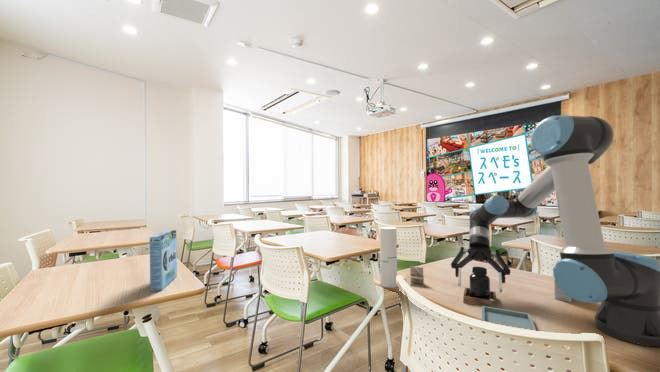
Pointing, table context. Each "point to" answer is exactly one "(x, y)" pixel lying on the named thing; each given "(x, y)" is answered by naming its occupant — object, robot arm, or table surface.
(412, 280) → the architectural model
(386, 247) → the cylindrical container
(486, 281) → the supplement bottle
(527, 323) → the tray
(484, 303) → the frame
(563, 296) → the ink box
